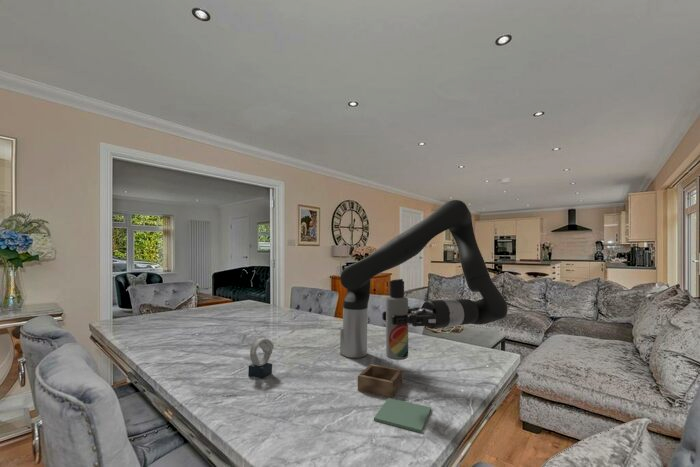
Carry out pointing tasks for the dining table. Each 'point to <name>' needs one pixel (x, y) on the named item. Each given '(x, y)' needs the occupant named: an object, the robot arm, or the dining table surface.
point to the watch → (261, 367)
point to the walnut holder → (380, 380)
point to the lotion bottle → (396, 333)
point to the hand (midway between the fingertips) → (387, 318)
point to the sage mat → (403, 414)
